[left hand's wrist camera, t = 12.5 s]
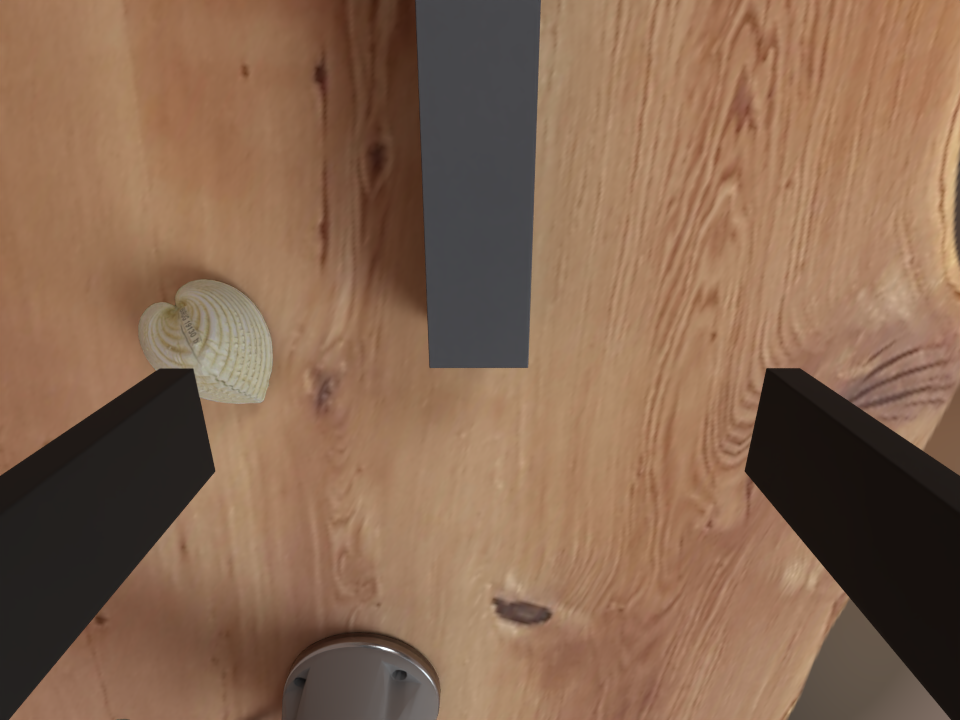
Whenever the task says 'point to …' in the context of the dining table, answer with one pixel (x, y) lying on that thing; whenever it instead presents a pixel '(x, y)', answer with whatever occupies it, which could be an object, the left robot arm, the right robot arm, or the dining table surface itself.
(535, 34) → the beam
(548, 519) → the dining table surface
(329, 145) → the dining table surface
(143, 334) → the seashell
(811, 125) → the dining table surface
